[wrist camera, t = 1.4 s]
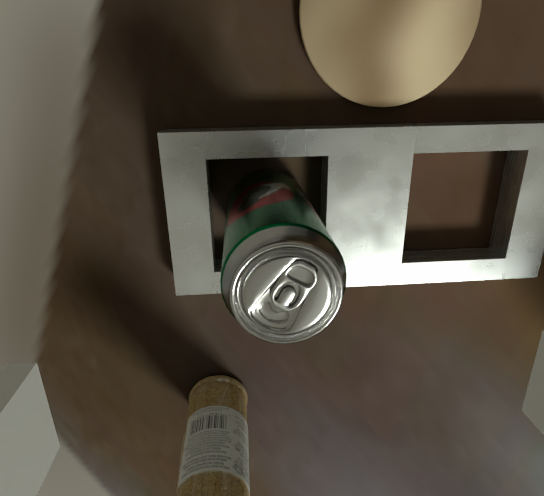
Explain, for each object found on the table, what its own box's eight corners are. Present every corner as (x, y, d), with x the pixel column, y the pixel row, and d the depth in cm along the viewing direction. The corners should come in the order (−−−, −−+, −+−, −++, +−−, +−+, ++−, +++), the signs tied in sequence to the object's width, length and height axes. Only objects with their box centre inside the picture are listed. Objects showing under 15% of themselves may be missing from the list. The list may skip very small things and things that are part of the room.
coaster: (491, -100, 21) (497, -105, 21) (461, 104, 25) (466, 105, 24) (299, -102, 21) (301, -107, 20) (298, 108, 24) (299, 108, 24)
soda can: (213, 221, 26) (195, 320, 15) (251, 152, 25) (262, 207, 14) (279, 256, 28) (307, 370, 17) (320, 192, 26) (380, 271, 15)
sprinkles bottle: (188, 417, 32) (157, 627, 20) (190, 370, 31) (157, 566, 18) (246, 419, 33) (251, 624, 20) (251, 372, 31) (259, 564, 19)
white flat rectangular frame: (551, 119, 26) (575, 122, 24) (518, 265, 29) (537, 277, 28) (163, 129, 24) (157, 132, 22) (180, 281, 28) (176, 295, 26)
